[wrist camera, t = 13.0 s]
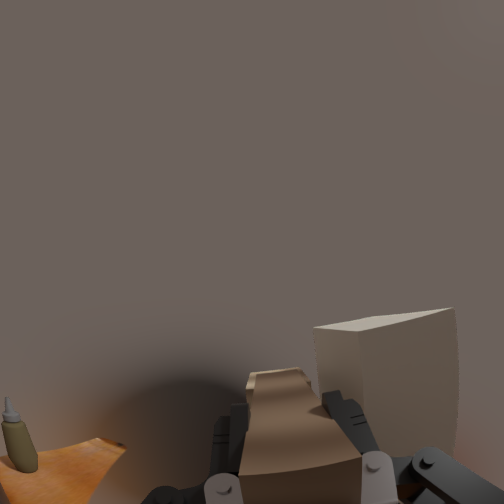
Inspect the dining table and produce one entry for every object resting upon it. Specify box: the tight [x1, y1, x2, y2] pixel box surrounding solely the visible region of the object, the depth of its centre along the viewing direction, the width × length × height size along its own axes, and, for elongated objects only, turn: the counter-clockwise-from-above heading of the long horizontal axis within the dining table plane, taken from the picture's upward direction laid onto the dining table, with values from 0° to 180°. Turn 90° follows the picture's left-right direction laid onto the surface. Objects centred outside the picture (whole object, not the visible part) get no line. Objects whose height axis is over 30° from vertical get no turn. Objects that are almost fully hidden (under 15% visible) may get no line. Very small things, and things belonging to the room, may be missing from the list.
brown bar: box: [238, 367, 362, 504], centre depth 17 cm, size 24×5×3 cm, turn 178°
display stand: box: [313, 307, 459, 504], centre depth 18 cm, size 15×16×32 cm
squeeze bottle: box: [1, 397, 38, 473], centre depth 34 cm, size 8×8×18 cm
